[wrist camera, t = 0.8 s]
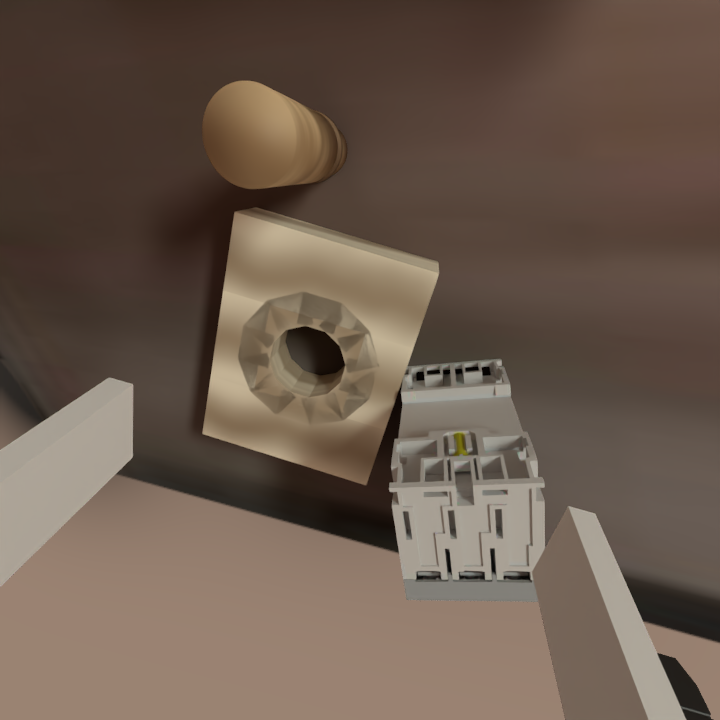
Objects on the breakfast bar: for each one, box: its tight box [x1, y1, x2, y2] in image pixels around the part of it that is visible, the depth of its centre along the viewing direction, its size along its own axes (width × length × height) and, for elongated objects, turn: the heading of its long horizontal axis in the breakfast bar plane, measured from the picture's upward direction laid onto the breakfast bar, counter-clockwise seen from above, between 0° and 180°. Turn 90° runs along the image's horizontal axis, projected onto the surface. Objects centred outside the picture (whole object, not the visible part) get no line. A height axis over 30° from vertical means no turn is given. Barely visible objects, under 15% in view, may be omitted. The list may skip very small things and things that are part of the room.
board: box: [202, 207, 439, 485], centre depth 35 cm, size 18×14×4 cm
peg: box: [202, 81, 347, 189], centre depth 25 cm, size 4×4×14 cm
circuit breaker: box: [389, 359, 545, 602], centre depth 32 cm, size 8×14×15 cm, turn 9°
